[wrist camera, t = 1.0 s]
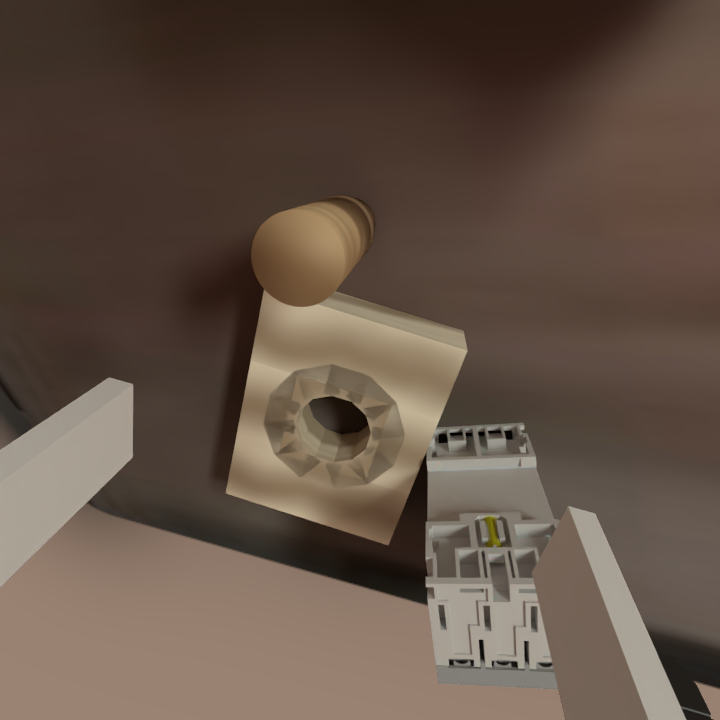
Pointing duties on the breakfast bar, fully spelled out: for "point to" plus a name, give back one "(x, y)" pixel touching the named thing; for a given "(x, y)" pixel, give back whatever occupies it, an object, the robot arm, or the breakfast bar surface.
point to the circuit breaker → (486, 558)
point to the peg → (311, 249)
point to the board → (349, 382)
